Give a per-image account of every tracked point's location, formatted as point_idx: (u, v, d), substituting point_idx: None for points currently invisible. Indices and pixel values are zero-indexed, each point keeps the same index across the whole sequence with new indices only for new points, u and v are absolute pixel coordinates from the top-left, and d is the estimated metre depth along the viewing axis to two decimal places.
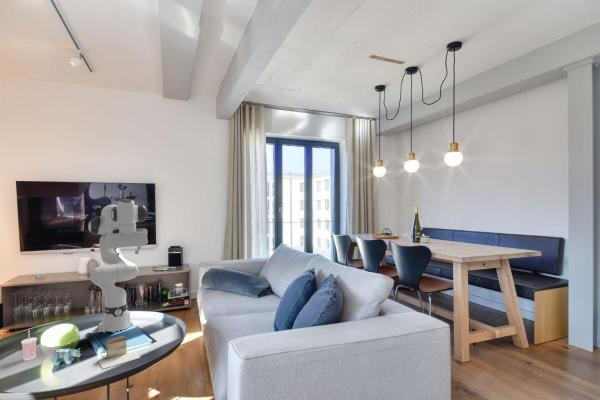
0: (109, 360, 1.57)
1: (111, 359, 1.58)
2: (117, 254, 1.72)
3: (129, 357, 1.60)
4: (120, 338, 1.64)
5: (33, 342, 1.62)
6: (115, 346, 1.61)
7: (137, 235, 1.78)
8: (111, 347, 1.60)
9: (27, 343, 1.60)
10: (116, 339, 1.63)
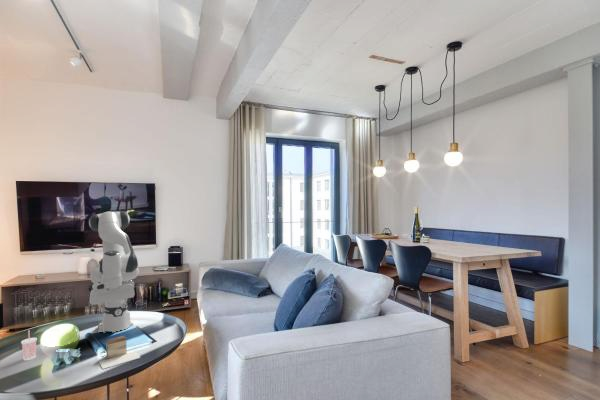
0: (109, 360, 1.57)
1: (111, 359, 1.58)
2: (102, 310, 1.66)
3: (129, 357, 1.60)
4: (120, 338, 1.64)
5: (33, 342, 1.62)
6: (115, 346, 1.61)
7: (123, 288, 1.72)
8: (111, 347, 1.60)
9: (27, 343, 1.60)
10: (116, 339, 1.63)
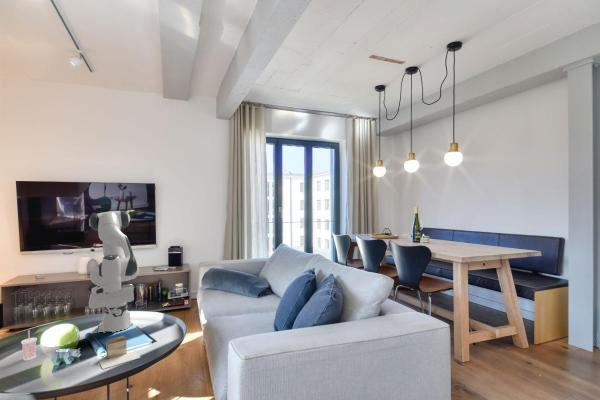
0: (109, 360, 1.57)
1: (111, 359, 1.58)
2: (110, 312, 1.68)
3: (129, 357, 1.60)
4: (120, 338, 1.64)
5: (33, 342, 1.62)
6: (115, 346, 1.61)
7: (123, 292, 1.71)
8: (111, 347, 1.60)
9: (27, 343, 1.60)
10: (116, 339, 1.63)
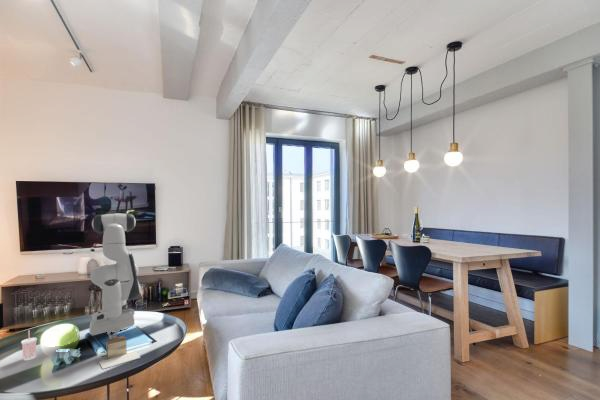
0: (109, 360, 1.57)
1: (111, 359, 1.58)
2: (111, 337, 1.68)
3: (129, 357, 1.60)
4: (120, 338, 1.64)
5: (33, 342, 1.62)
6: (115, 346, 1.61)
7: (123, 317, 1.71)
8: (111, 347, 1.60)
9: (27, 343, 1.60)
10: (116, 339, 1.63)
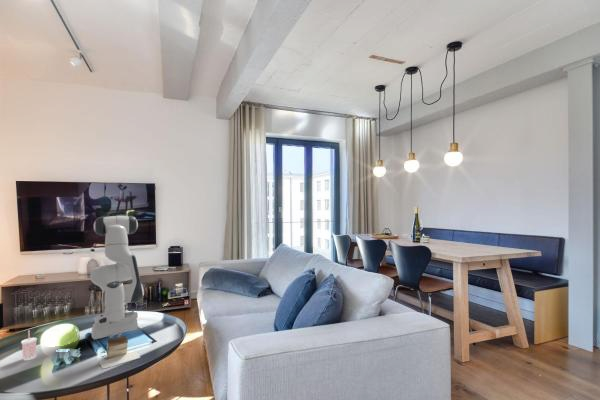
0: (109, 360, 1.57)
1: (111, 359, 1.58)
2: None
3: (129, 357, 1.60)
4: (121, 340, 1.62)
5: (33, 342, 1.62)
6: (116, 348, 1.60)
7: (126, 320, 1.66)
8: (112, 349, 1.59)
9: (27, 343, 1.60)
10: (118, 341, 1.61)
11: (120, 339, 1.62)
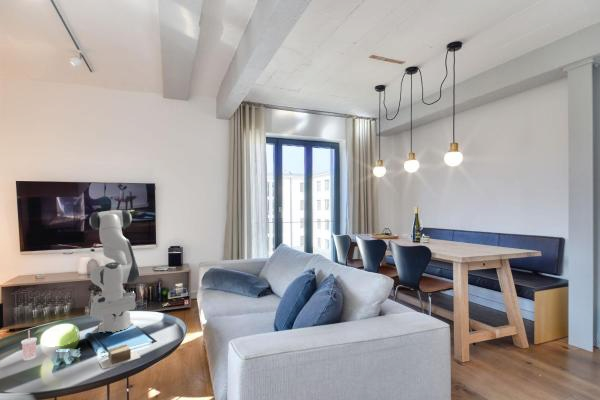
0: (109, 360, 1.57)
1: None
2: (112, 320, 1.67)
3: None
4: (125, 356, 1.57)
5: (33, 342, 1.62)
6: None
7: (124, 300, 1.69)
8: None
9: (27, 343, 1.60)
10: (121, 357, 1.56)
11: (124, 355, 1.57)
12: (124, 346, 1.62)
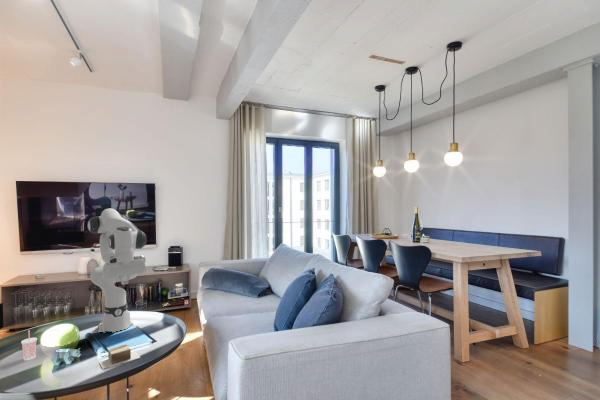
0: (109, 360, 1.57)
1: None
2: (123, 282, 1.71)
3: None
4: (125, 356, 1.57)
5: (33, 342, 1.62)
6: None
7: (135, 263, 1.75)
8: None
9: (27, 343, 1.60)
10: (121, 357, 1.56)
11: (124, 355, 1.57)
12: (124, 346, 1.62)
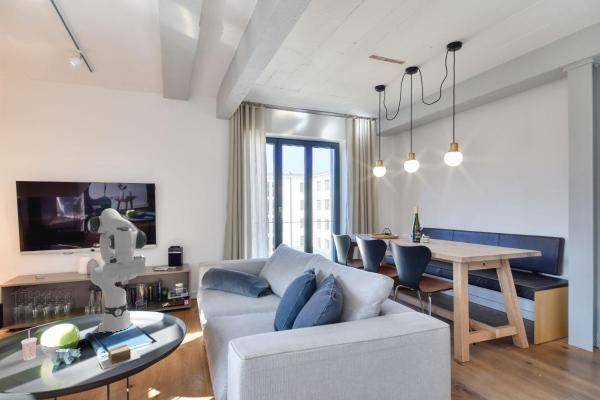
0: (109, 360, 1.57)
1: None
2: (123, 282, 1.71)
3: None
4: (125, 356, 1.57)
5: (33, 342, 1.62)
6: None
7: (135, 263, 1.75)
8: None
9: (27, 343, 1.60)
10: (121, 357, 1.56)
11: (124, 355, 1.57)
12: (124, 346, 1.62)
